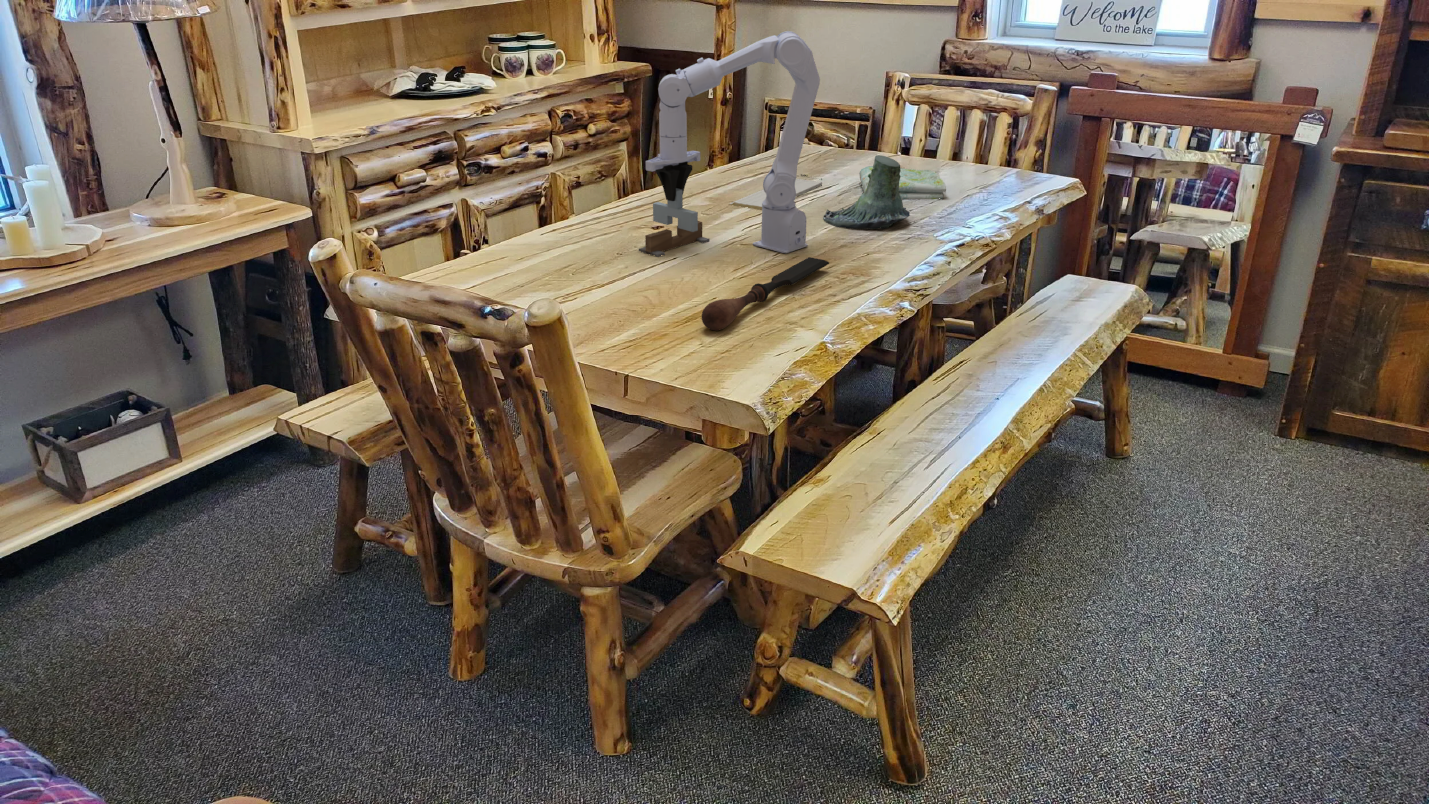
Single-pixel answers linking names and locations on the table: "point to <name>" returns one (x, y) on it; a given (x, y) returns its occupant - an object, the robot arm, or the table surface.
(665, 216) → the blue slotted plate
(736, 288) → the table surface
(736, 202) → the baseboard molding
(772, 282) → the chisel
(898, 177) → the tree stump
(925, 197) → the towel
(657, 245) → the walnut slotted plate
